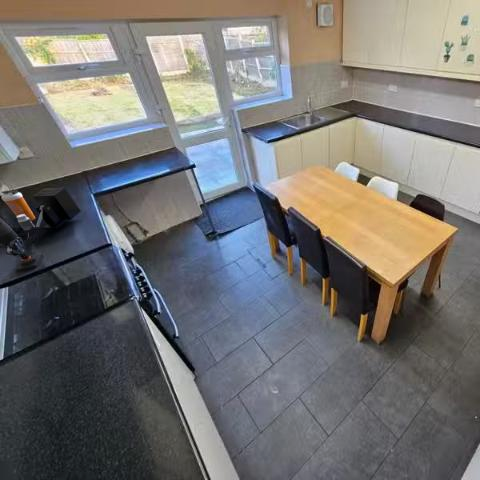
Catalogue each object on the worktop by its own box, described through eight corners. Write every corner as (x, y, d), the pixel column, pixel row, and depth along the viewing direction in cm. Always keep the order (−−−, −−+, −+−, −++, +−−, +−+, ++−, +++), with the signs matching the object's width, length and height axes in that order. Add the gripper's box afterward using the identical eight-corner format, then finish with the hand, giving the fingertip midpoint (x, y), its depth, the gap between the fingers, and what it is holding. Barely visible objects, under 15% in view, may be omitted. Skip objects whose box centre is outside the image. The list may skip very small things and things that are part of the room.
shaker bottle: (25, 217, 180) (5, 189, 169) (40, 215, 181) (21, 188, 170) (15, 223, 172) (-6, 195, 161) (31, 222, 174) (11, 193, 162)
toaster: (71, 219, 177) (53, 195, 165) (51, 220, 176) (31, 196, 165) (81, 211, 184) (64, 187, 173) (61, 212, 184) (43, 188, 172)
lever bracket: (56, 228, 169) (42, 210, 160) (43, 229, 168) (28, 210, 160) (67, 219, 176) (54, 201, 168) (54, 220, 176) (40, 202, 167)
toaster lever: (43, 229, 161) (40, 228, 159) (33, 230, 161) (29, 228, 159) (51, 207, 167) (47, 205, 164) (40, 207, 166) (37, 205, 164)
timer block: (38, 268, 141) (32, 262, 139) (18, 272, 139) (13, 267, 136) (44, 256, 148) (39, 251, 146) (26, 260, 146) (20, 255, 143)
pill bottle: (36, 227, 170) (27, 214, 165) (25, 231, 166) (16, 218, 161) (33, 225, 172) (24, 213, 167) (22, 229, 169) (13, 216, 164)
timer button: (31, 262, 141) (29, 259, 140) (23, 264, 140) (20, 261, 139) (33, 257, 144) (31, 255, 143) (25, 259, 143) (23, 257, 142)
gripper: (-3, 226, 134) (22, 252, 145) (-16, 242, 124) (12, 268, 135) (16, 222, 136) (39, 248, 147) (5, 237, 126) (31, 264, 137)
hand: (26, 258), depth 141 cm, fingers closed
